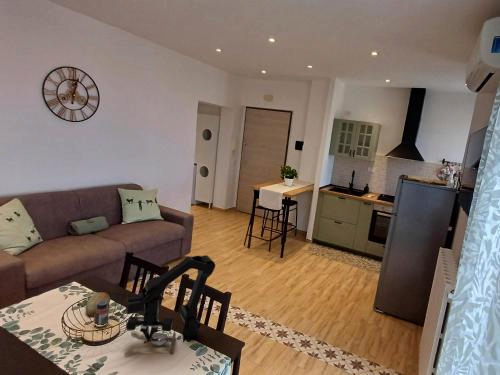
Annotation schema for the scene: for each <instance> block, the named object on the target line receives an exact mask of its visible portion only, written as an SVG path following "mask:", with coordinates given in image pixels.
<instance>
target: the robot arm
mask: <svg viewBox="0 0 500 375" xmlns="http://www.w3.org/2000/svg"><path fill="white" fill-rule="evenodd" d="M191 269H194V270H197V275H196V278H195V280H194V284H193V286H192V289H191V293H190V294H189V298H188V301H187V303H186V304H181V307H180V308H181V309H180V310H179V315H180V317H181V319H182V321H183V322H184V324H183V327H182V340H184V341H185V340H186V341H198V337H199V336H198V334H199V329H200V328H201V325H202V323H201V322H200V320H199V318H198V314H199V313H198V306H199V303H200V300H201V297H202V294H203V293H204V288H205V287H206V284H207V280H208V278H209V277H210V276H212V275H213V272H214V271H215V269H216V263H215V262H214V260H213V259H212V258H211V257H210V256H208V255H206V254H205V255H195V256H186V257H185V258H184V259H183V260H181V261H180V262H179V263H177V264H176V265H174V266H173V267H172V268H170V269H169V270H167V271H166V272H165V273H163V274H161V275H159V276H154V277H153V278H150V279H148V280H147V281H146V282H144V286H143V287H142V289H141V290H140V291H139V293H138V294H139V295H137V296H136V295H135V296H129V297H127V298H126V301H125V313H126V315H132V314H137V313H141V312H142V314H143V319H142V320H141V319H139V318H140V317H139V316H129V318H127V322H126V326H125V329H126V330H127V331H135V329H137V328H136V327H137V326H140V329H139V333H140V332H141V333H142V334H144V335H145V337H146V339H145V340H146V341H147V342H151V340H150V339H151V337H152V335H154V334H156V333H157V332H158V330H159V327H161V331H162V332H171V331H172V328H173V318H172V317H169V318H168V317H163V320H161V321H160V319H159V310H160V307H159V302H160V301H163V300H164V299H165V298H164V296H163V294H162V293H163V292H164V291H165V290H166V288H167V287H168V286H169V285H170V284H171V283H173V282H174V281H176V279H179V278H180V276H182V275H183V274H185V273H186V272H188V271H190V270H191ZM149 334H150V335H149Z"/></svg>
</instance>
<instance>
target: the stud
mask: <svg viewBox="0 0 500 375" xmlns="http://www.w3.org/2000/svg"><path fill="white" fill-rule="evenodd" d="M168 336H169V335H167V334H166V333H163V332H158V333H157V332H156V333H154V334H153V336H152V338H151V340H150V342H151V344H152V348H163V347H165V346H166V344H167V343H168V342H169V341H168Z"/></svg>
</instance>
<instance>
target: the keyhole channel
mask: <svg viewBox="0 0 500 375" xmlns="http://www.w3.org/2000/svg"><path fill="white" fill-rule="evenodd" d="M130 332H131V333H130V336H131V337H134V338H137V339H140V340H147V339H146V337H145V335H144V334H143V333H142V332H141V333H140V332H137V331H136V330H131V331H130ZM149 335H150V333H149ZM153 335H154V334H153ZM153 335H152V336H153ZM176 335H177V333H176V332H173V333H172V335H167V336H168V341H167V342H171V343H170V347H163V348H154V347H135V348H131V349H127V350H125V351H123V352H124V353H123V355H124V357H129V356H132V355H137V354H170V355H173V354H174V351H175V350H174V349H175V343H176ZM151 338H152V337H151ZM150 341H151V339H150Z"/></svg>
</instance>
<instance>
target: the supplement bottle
mask: <svg viewBox="0 0 500 375" xmlns="http://www.w3.org/2000/svg"><path fill="white" fill-rule="evenodd" d="M109 310H110V308H109V304H108V305H107V302H106V301H99V302H98V303H97V306H96V307H95V316H94V320H93V323H95V324H97V325H104V324H106V323H108V324H109V312H110V311H109Z"/></svg>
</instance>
